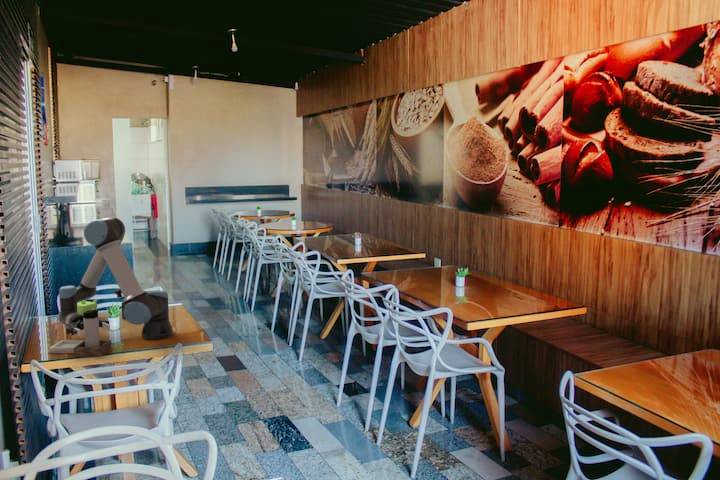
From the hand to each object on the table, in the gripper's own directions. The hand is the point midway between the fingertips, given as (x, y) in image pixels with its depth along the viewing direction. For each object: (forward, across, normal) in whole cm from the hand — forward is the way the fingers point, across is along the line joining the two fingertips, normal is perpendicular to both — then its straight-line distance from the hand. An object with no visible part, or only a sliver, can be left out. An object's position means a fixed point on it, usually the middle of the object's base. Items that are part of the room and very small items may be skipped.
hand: (95, 330), depth 265 cm
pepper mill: (-48, -39, -11) cm, 63 cm away
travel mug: (-4, 0, -11) cm, 12 cm away
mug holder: (-4, 0, -11) cm, 12 cm away
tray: (-17, +6, -11) cm, 21 cm away
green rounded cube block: (-64, -19, -11) cm, 67 cm away
